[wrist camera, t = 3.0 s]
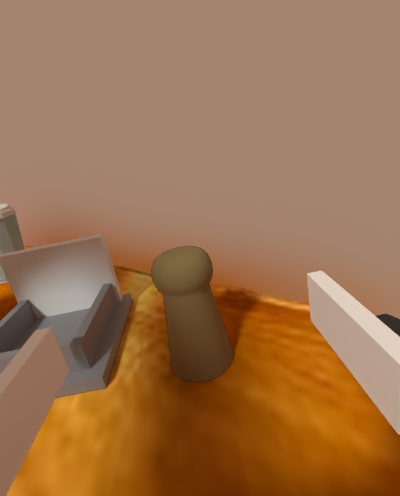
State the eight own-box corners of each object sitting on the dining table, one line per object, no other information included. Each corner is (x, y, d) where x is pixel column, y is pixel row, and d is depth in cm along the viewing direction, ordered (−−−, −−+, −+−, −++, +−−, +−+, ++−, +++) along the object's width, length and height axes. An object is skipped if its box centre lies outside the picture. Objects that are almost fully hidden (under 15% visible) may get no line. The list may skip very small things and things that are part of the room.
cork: (191, 394, 24) (160, 274, 21) (160, 357, 29) (131, 256, 26) (246, 357, 27) (228, 246, 23) (210, 329, 32) (190, 234, 28)
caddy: (106, 387, 27) (67, 285, 23) (-56, 420, 27) (-119, 323, 23) (132, 300, 42) (111, 231, 38) (29, 321, 42) (-2, 253, 38)
